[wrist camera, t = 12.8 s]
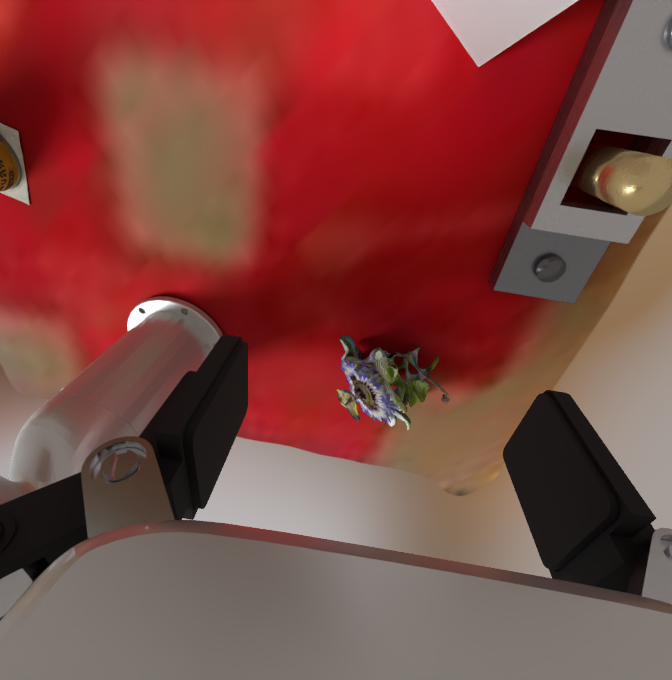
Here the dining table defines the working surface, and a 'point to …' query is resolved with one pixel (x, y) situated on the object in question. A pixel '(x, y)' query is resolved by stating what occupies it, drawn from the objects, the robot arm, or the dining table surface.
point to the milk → (496, 22)
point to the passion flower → (383, 383)
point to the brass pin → (625, 178)
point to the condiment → (12, 165)
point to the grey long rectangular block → (571, 143)
